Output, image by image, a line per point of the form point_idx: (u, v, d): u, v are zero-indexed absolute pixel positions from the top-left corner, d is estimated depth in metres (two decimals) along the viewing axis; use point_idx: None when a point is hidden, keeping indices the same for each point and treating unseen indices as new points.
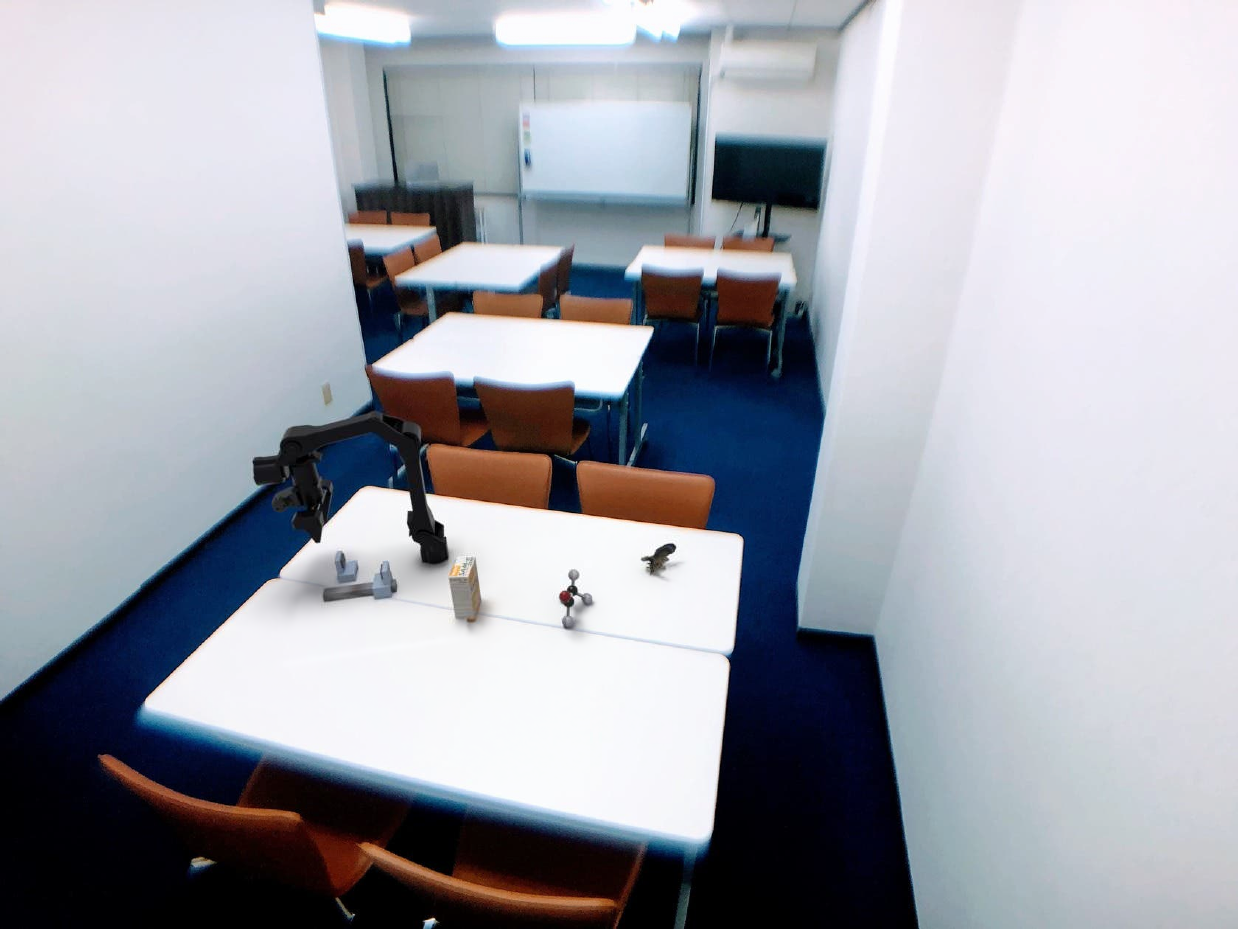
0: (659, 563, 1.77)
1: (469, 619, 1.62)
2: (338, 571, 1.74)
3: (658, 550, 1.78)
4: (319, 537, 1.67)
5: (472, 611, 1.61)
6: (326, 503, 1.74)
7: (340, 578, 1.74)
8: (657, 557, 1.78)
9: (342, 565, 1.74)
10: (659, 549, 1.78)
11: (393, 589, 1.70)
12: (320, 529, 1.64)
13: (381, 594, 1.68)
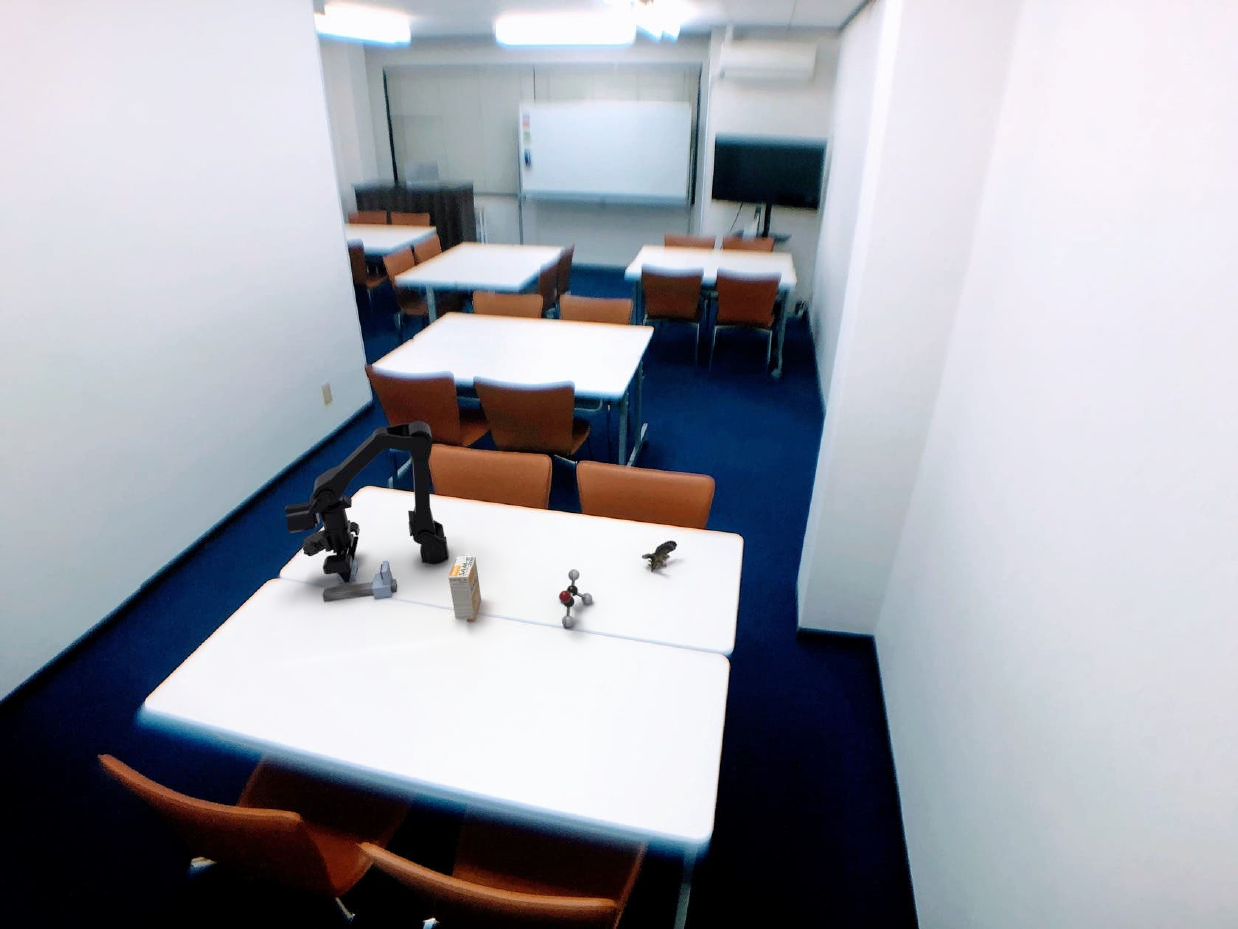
0: (660, 560, 1.78)
1: (469, 619, 1.62)
2: None
3: (659, 547, 1.79)
4: (348, 576, 1.73)
5: (472, 611, 1.61)
6: (352, 548, 1.78)
7: (340, 578, 1.74)
8: (658, 555, 1.79)
9: None
10: (660, 546, 1.79)
11: (393, 589, 1.70)
12: (350, 569, 1.71)
13: (381, 594, 1.68)
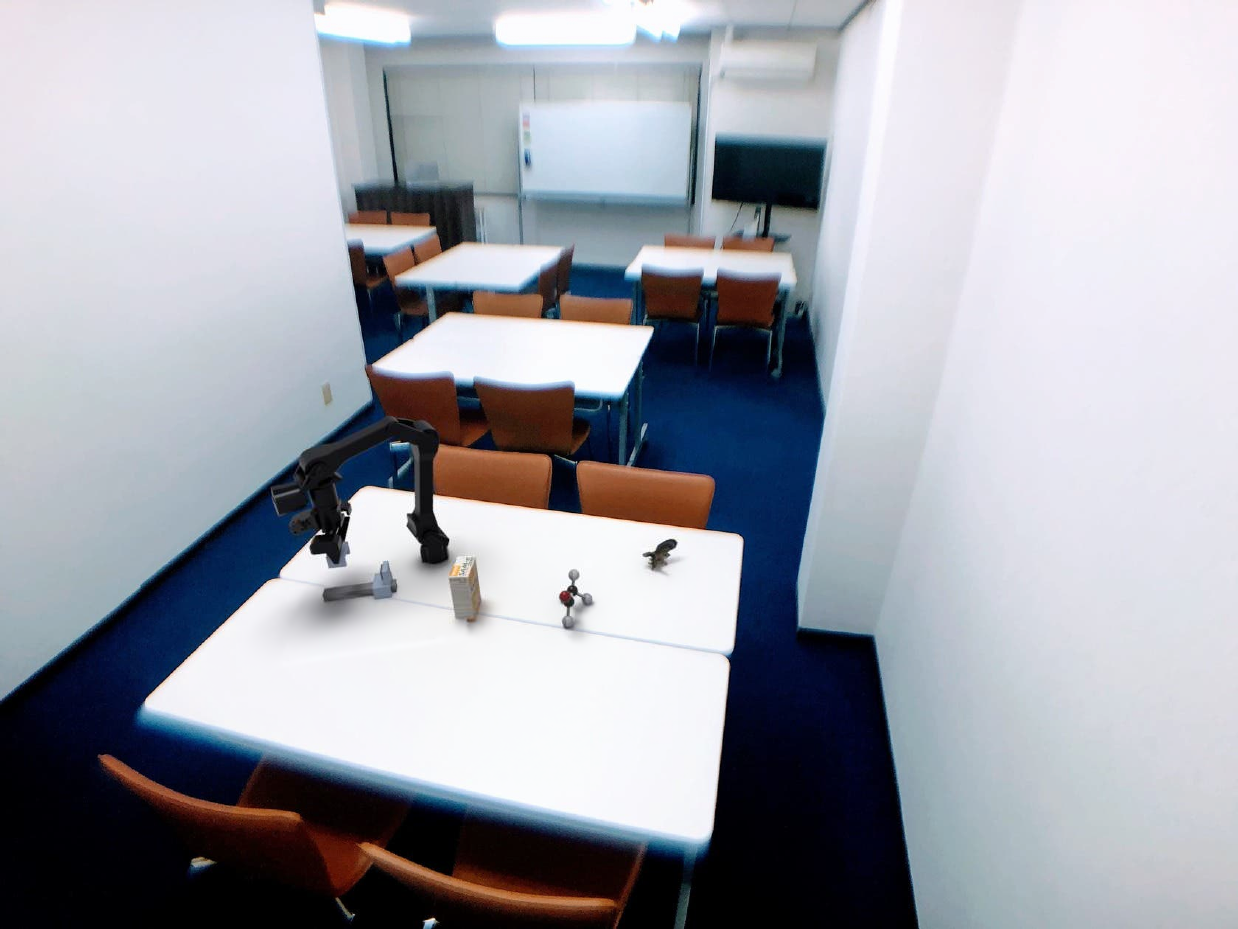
0: (660, 559, 1.79)
1: (469, 619, 1.62)
2: None
3: (659, 546, 1.79)
4: (338, 558, 1.62)
5: (472, 611, 1.61)
6: (343, 529, 1.67)
7: (329, 560, 1.63)
8: (659, 553, 1.79)
9: None
10: (660, 545, 1.79)
11: (393, 589, 1.70)
12: (340, 550, 1.60)
13: (381, 594, 1.68)
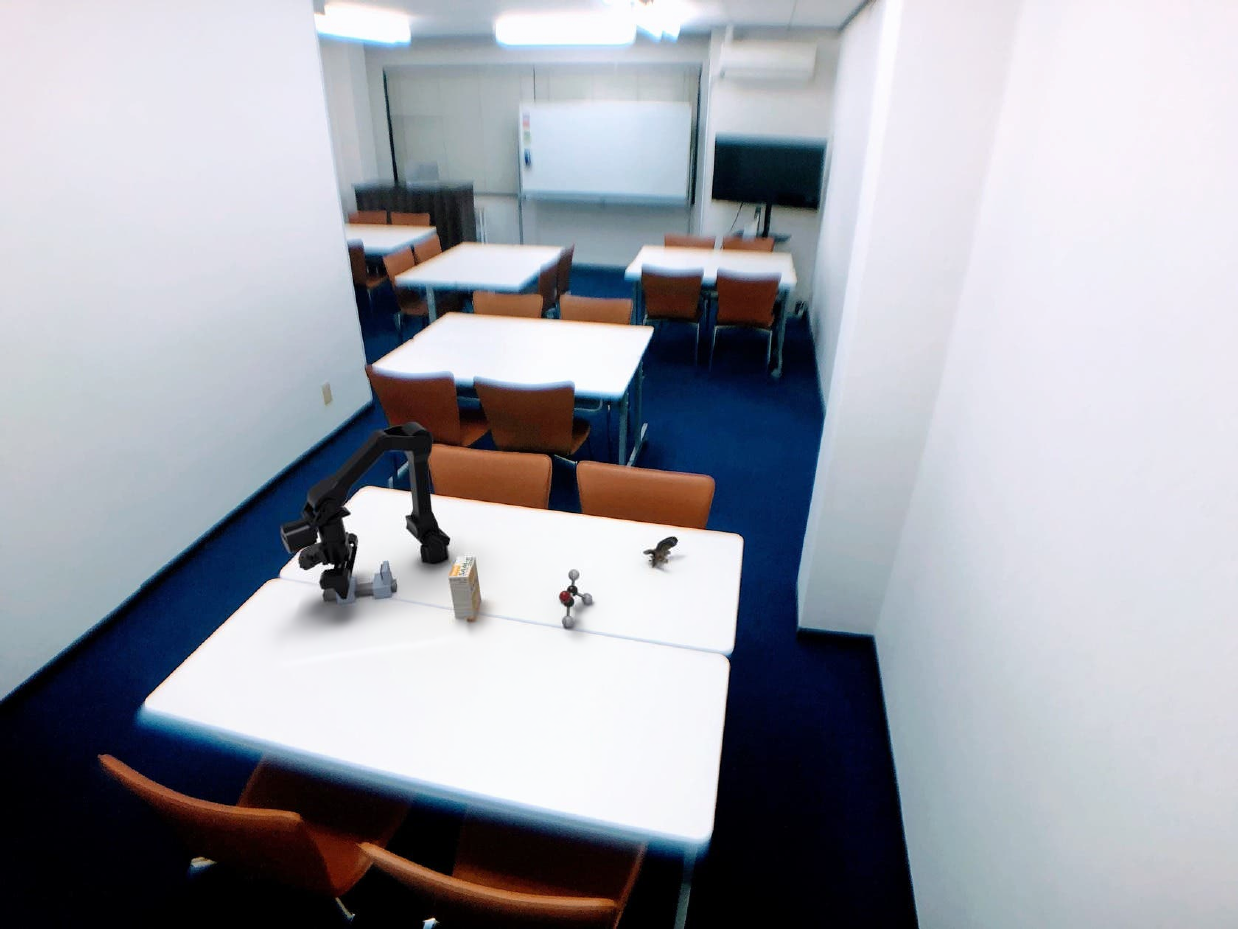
0: (661, 556, 1.80)
1: (469, 619, 1.62)
2: None
3: (660, 543, 1.80)
4: (346, 594, 1.64)
5: (472, 611, 1.61)
6: (351, 558, 1.71)
7: (338, 596, 1.66)
8: (659, 550, 1.80)
9: None
10: (661, 542, 1.80)
11: (393, 589, 1.70)
12: (348, 586, 1.62)
13: (381, 594, 1.68)
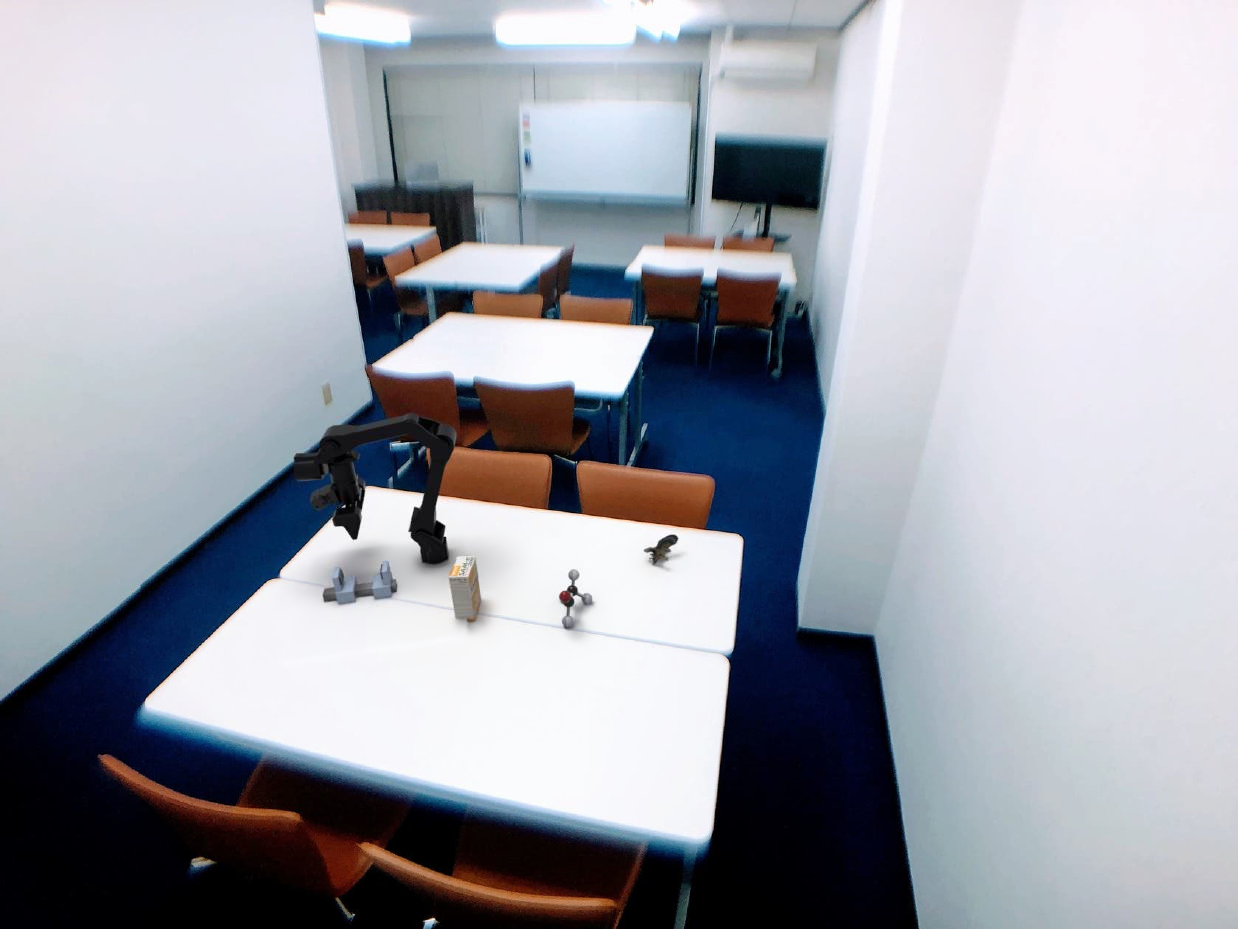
0: (662, 554, 1.81)
1: (469, 619, 1.62)
2: (336, 588, 1.66)
3: (661, 541, 1.81)
4: (356, 534, 1.71)
5: (472, 611, 1.61)
6: (360, 501, 1.78)
7: (338, 596, 1.66)
8: (660, 548, 1.81)
9: (340, 582, 1.66)
10: (662, 540, 1.81)
11: (393, 589, 1.70)
12: (359, 525, 1.69)
13: (381, 594, 1.68)
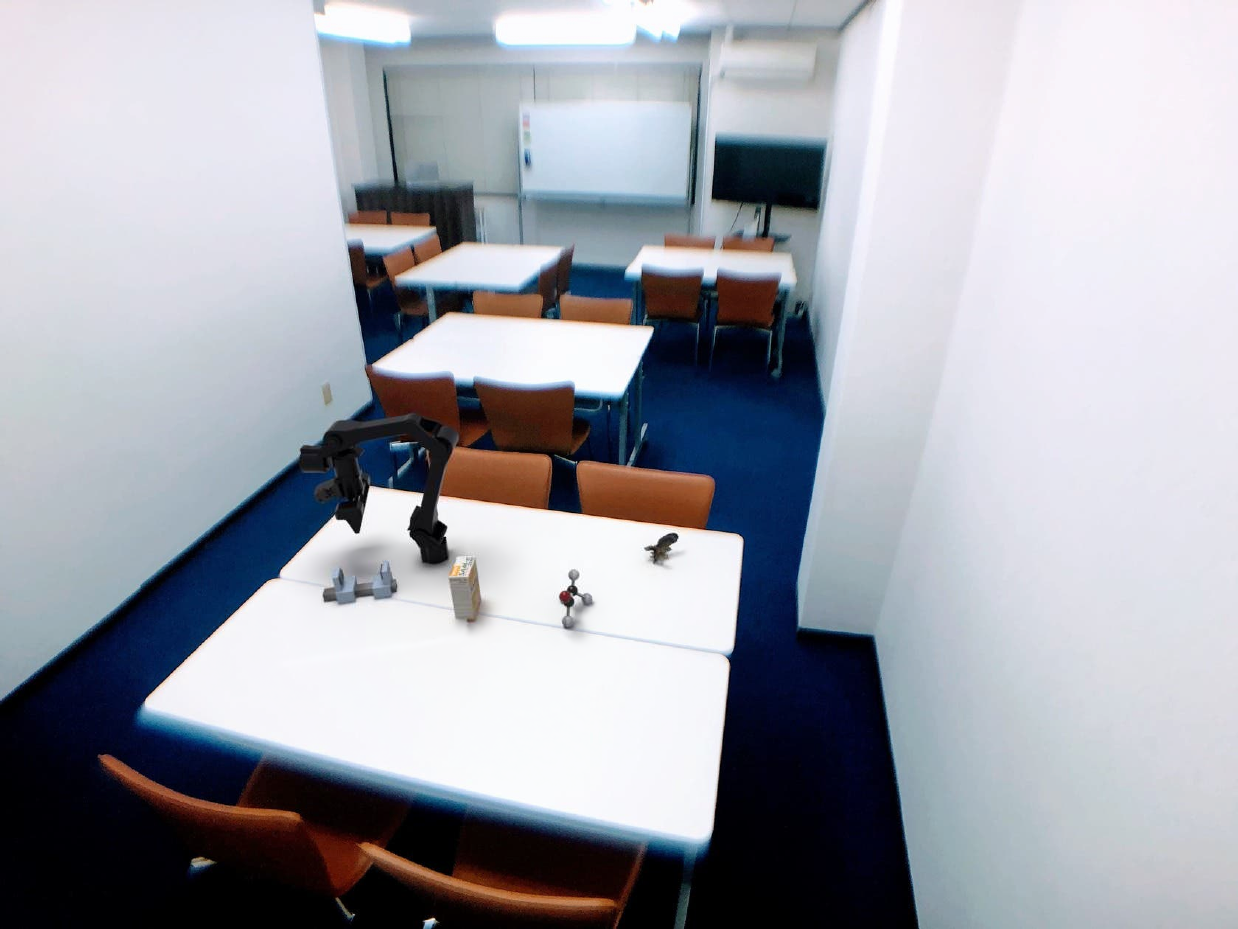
0: (662, 552, 1.81)
1: (469, 619, 1.62)
2: (336, 588, 1.66)
3: (661, 540, 1.82)
4: (359, 528, 1.73)
5: (472, 611, 1.61)
6: (364, 495, 1.80)
7: (338, 596, 1.66)
8: (660, 547, 1.82)
9: (340, 582, 1.66)
10: (662, 539, 1.82)
11: (393, 589, 1.70)
12: (361, 519, 1.71)
13: (381, 594, 1.68)
